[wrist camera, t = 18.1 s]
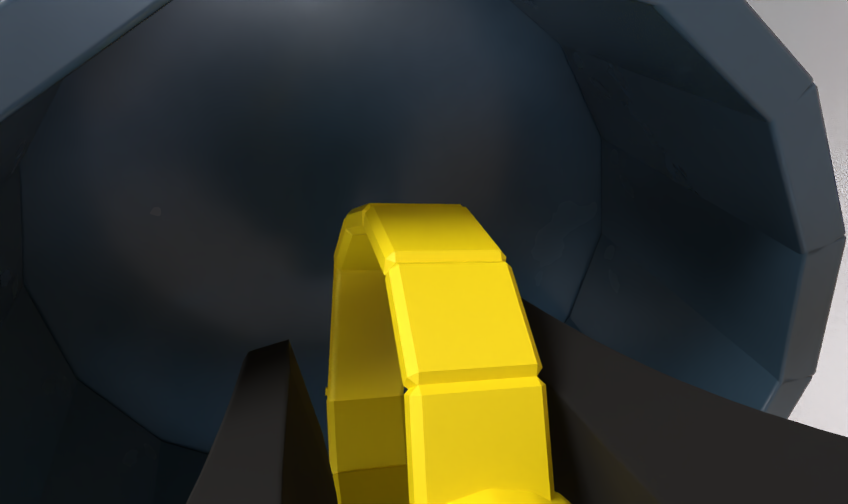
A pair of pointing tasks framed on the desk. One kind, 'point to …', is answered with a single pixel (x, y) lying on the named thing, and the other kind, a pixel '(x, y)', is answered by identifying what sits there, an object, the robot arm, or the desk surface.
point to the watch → (432, 365)
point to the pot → (383, 200)
